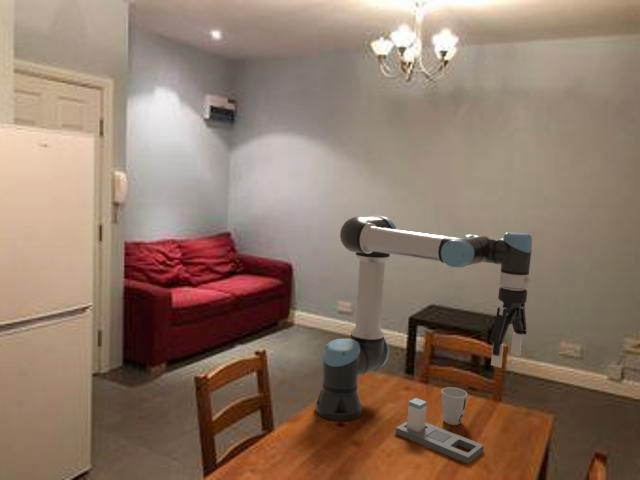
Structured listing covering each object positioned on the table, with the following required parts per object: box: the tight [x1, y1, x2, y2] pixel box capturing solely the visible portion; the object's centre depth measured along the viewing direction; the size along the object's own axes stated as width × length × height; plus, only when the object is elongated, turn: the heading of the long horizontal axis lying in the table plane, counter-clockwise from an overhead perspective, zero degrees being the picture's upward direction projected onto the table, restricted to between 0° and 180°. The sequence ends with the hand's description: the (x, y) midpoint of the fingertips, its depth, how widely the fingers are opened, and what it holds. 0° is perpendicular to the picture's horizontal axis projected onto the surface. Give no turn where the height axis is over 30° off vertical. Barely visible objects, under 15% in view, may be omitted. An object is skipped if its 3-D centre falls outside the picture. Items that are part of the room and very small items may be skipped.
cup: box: [441, 387, 468, 426], centre depth 179 cm, size 8×8×10 cm
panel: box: [395, 421, 485, 465], centre depth 165 cm, size 24×10×2 cm, turn 49°
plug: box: [406, 397, 428, 433], centre depth 169 cm, size 4×4×10 cm
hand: (506, 360), depth 157 cm, fingers open, 13 cm apart
